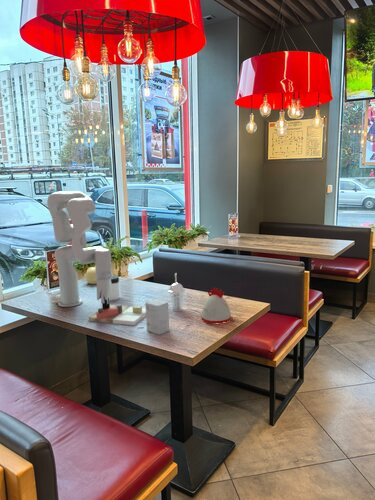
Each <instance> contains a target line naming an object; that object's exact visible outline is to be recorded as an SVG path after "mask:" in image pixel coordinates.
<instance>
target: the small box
mask: <svg viewBox="0 0 375 500" xmlns="http://www.w3.org/2000/svg"><path fill="white" fill-rule="evenodd" d="M145 308H146V316H145V317H146V320H145V321H146V331H147V332H151V333H153V334H155V335H159V336H160V335H162V334H165V333H166V332H167V333H168V332H169V331H170V317H169V316H170V315H169V302H168V301H164V300H160V299H157V298H155V299H151V300H149V301H146V302H145Z"/></svg>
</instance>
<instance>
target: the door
mask: <svg viewBox="0 0 375 500" xmlns="http://www.w3.org/2000/svg"><path fill="white" fill-rule="evenodd" d="M128 307H129V308H128V309H126V310H125V311H124V312H122V313H121V314H119V315H118V316H117V317H115V318H114V319H113V323H112V324H118V325H128V326H135V325H137V324H138V323H139V322H140V321H141V320H142V319H144V318H145V317H146V307H143V306H140V305H133V306H128Z"/></svg>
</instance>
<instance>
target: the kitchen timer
mask: <svg viewBox="0 0 375 500" xmlns="http://www.w3.org/2000/svg"><path fill="white" fill-rule="evenodd" d="M207 294H208V296H209V297H207V299H206V300H205V301H204V304H203V306H202V309H201V314H200V317H201V319H202V320H203V321H204V322H203V321H202V320H201V321H202V322H203V323H205V322H207V323H206V324H208V323H223V322H227V321H229V320H230V319H231V320H232V314H231V310H230V306H229V304H228V302H227V300H225V298H224V297H223V296H224V294H225V291H223V292H222V289H221V288H220V289H219V288H216V287H213V289H212V288H211V289H210V291H207ZM231 320H230V321H231ZM230 321H229V322H230ZM227 323H228V322H227Z"/></svg>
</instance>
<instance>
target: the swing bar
mask: <svg viewBox="0 0 375 500" xmlns="http://www.w3.org/2000/svg"><path fill="white" fill-rule="evenodd" d="M97 311H98V312H97ZM97 311H96V312H95V313H96V316H97V318H98V319H103V318H106V317H109V316H113V315H116V314H118V308H116V307H112V308H109V309H105V310H103V309H102V307H101V308H98V309H97Z"/></svg>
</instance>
